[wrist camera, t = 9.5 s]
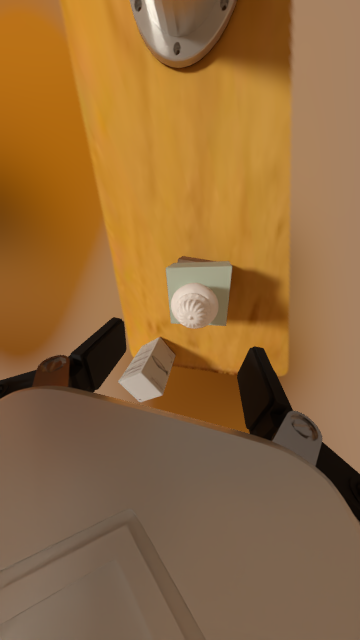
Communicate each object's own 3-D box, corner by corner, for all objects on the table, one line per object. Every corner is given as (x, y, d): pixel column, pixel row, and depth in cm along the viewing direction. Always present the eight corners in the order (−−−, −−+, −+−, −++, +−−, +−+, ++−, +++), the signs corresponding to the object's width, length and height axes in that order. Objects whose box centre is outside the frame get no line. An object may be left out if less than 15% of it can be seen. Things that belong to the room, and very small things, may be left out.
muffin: (176, 276, 21) (160, 290, 15) (220, 277, 20) (222, 293, 14) (177, 314, 24) (165, 339, 18) (216, 317, 23) (216, 345, 17)
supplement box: (176, 355, 41) (163, 396, 31) (156, 363, 44) (139, 403, 34) (160, 335, 39) (140, 372, 28) (141, 345, 42) (116, 382, 31)
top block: (173, 263, 25) (165, 267, 21) (228, 261, 24) (232, 266, 19) (177, 310, 30) (171, 323, 25) (223, 312, 28) (226, 325, 24)
